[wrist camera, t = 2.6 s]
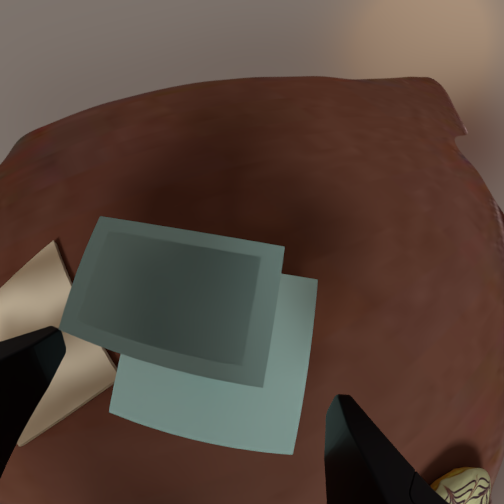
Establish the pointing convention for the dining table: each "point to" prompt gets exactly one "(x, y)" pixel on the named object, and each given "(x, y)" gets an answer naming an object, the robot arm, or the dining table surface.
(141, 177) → the dining table surface
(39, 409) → the board
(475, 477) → the decorated donut
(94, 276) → the lid
